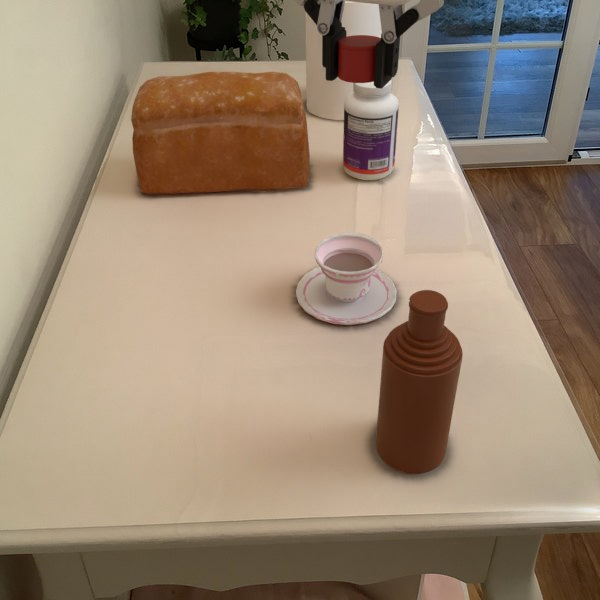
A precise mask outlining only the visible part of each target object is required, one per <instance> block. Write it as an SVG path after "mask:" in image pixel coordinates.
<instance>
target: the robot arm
mask: <svg viewBox="0 0 600 600" xmlns="http://www.w3.org/2000/svg"><path fill="white" fill-rule="evenodd" d="M345 1H351V2H361V3H371V4H379V12H380V21H381V29H382V34H381V40H380V41H379V42H378V43H377V44H376V51H375V70H374V86H375V87H376V88H380V89H382V88H383V87H384V86H385V85H386V84H387V83H388V82H389V81H390V80H392V79H393V78H395V77H396V76H397V73H398V69H399V58H400V57H399V56H400V44H401V36H402V35H404V34H405V33H406V32H407V31H408V30H409V29H411V28H412V26H414V25H415V24H416V23H418V22H419V21H421V20H423V19H426V18H427V17H429V16H431V15H432V14H435V13H436V12H437V11H439V9H441V8H442V7H443V6H444V4H445V0H420V1H419V2H418V3H416V4H414V5H412V6H411V7H409V8H408V9H407V10H406V11H405V4H407V3H409V2H410V1H411V0H294V2H296V3H297V4H298V5H299V6H300V7H302V8H303V9H304V11H306V12H307V14H308V15H309V16H310V18H311V19H312V20H313V21H314V23H315V24H316V25H317V31H318V33H319V34H321V35H322V65H323V67H325V68H326V80H327V81H333V80H335V79H336V78H337V77H338V41H339V40H340V39H341V38H343V37H346V33H347V32H346V30H345V27H342V23H341V20H342V15H343V10H344V4H345Z"/></svg>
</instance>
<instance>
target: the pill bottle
mask: <svg viewBox="0 0 600 600" xmlns="http://www.w3.org/2000/svg"><path fill="white" fill-rule="evenodd" d="M392 84H393V80H392V79H391V80H390V81H389V82H388V83H387V84H386V85H385V86H384V87H383V88H382V89H380V88H376V87H375V86H374V82H369V83H353V91H354V92H353V93H351V94H350V95H349V96H348V97H347V98H346V100H345V103H344V120H343V136H342V137H343V138H342V139H343V140H342V141H343V142H342V144H343V145H342V167H343V171H345V173H346V174H347V175H349V176H350V177H352V178H355V179H358V180H364V181H376V180H381V179H384V178H386V177H388V176H389V175H390V174H391V173H393V171H394V169H395V163H396V149H397V136H398V135H397V134H398V123H399V111H400V110H399V109H400V104H399V103H400V102H399V100H398V97H396V96H395V95H394V94H393V93H392V87H393V85H392Z"/></svg>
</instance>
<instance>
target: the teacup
mask: <svg viewBox="0 0 600 600" xmlns="http://www.w3.org/2000/svg"><path fill="white" fill-rule="evenodd" d="M314 259H315V262H316V263H317V265H318V266H317V267H315V268H313V269H311V270H310V271H308V272H306V273H305V274H304V275H303V276H302V278H301V279H300V280H299V281H297V285H296V289H295V296H296V299H297V304H298V305H299V306H300V307H301V308H302V309H303V310H304V312H305V313H307V314H309V315H310V316H312V317H313V318H315V319H317V320H319V321H322V322H326V323H330V324H333V325H346V326H353V325H361V324H368V323H370V322H372V321H375V320H378V319H380V318H382V317H383V316H385V315H386V314H388V313H389V312H390V311H392V308H393V306H394V305H395V303H396V302H397V288H396V286H395V284H394V283H395V282H394V281H393V280H392V279H391V277H389V276H388V275H386V273H385V272H383V271H381V270H379V269H378V268H379V267H380V266H381V264H382V262H383V259H384V252H383V248H382V246H381V245H380V243H379V242H378V241H377V240H376V239H375V238H373V237H371V236H370V235H367V234H365V233H364V234H363V233H359V232H340V233H334V234H333V235H330V236H327V237H326V238H324V239H323V240H321V241H320V242H319V243H318V244H317V246H316V248H315V250H314Z"/></svg>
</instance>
